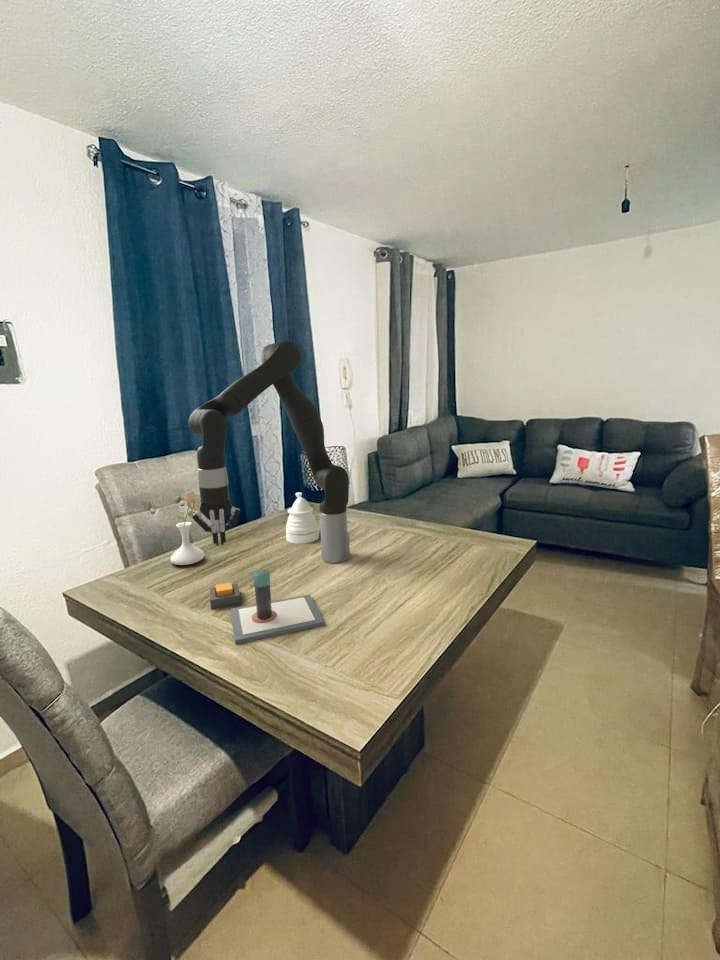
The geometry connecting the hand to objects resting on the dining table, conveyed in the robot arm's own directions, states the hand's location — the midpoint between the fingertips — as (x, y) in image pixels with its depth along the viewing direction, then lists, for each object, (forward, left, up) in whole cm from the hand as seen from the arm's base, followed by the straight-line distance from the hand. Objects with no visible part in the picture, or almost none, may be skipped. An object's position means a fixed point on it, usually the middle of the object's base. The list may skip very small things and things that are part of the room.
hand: (219, 544), depth 123 cm
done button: (0, 0, -15) cm, 15 cm away
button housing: (0, 0, -17) cm, 17 cm away
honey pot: (-32, -42, -17) cm, 56 cm away
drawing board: (-12, +16, -17) cm, 26 cm away
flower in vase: (+10, -35, -17) cm, 40 cm away
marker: (-9, +16, -16) cm, 24 cm away
